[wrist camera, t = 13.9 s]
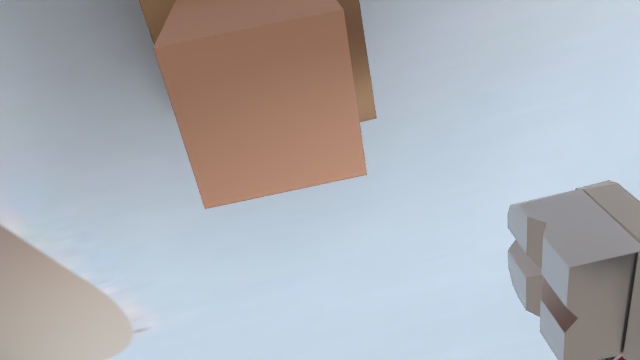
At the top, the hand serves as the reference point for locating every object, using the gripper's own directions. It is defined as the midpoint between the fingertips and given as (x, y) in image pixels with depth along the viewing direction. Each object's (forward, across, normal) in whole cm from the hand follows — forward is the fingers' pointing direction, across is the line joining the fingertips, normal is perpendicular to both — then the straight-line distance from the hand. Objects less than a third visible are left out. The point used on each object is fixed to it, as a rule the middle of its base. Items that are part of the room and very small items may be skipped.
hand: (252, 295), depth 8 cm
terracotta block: (+15, 0, +1) cm, 15 cm away
